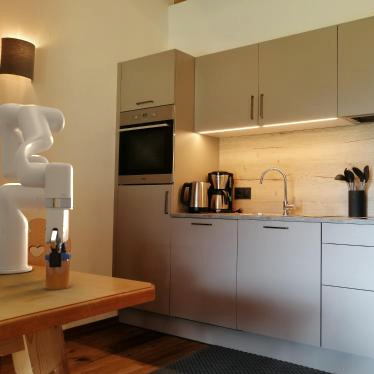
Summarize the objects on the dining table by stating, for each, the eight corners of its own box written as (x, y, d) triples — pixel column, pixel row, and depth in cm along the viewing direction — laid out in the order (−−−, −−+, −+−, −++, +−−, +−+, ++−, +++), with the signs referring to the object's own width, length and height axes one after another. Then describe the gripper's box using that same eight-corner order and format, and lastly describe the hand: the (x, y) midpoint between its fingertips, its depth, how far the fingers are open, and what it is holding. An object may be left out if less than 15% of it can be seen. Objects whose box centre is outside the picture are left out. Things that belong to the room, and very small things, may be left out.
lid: (39, 260, 122) (39, 254, 122) (56, 257, 128) (56, 251, 128) (59, 261, 120) (59, 255, 120) (75, 258, 126) (75, 252, 126)
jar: (41, 287, 123) (41, 255, 123) (62, 284, 128) (63, 253, 128) (52, 290, 119) (52, 257, 119) (73, 287, 124) (74, 255, 124)
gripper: (51, 204, 132) (50, 261, 131) (38, 204, 115) (36, 270, 115) (76, 204, 134) (76, 260, 133) (67, 204, 117) (66, 269, 116)
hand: (57, 264), depth 124 cm, fingers closed on lid, 6 cm apart
